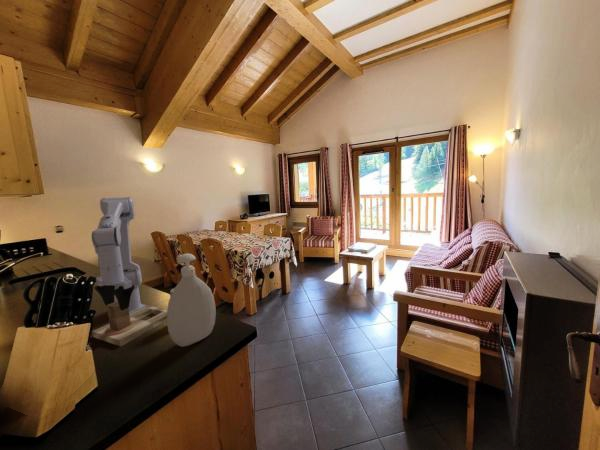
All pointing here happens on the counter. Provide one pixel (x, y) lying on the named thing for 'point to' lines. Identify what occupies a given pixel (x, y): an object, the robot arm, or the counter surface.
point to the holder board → (132, 326)
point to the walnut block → (118, 317)
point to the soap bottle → (190, 307)
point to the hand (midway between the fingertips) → (117, 306)
